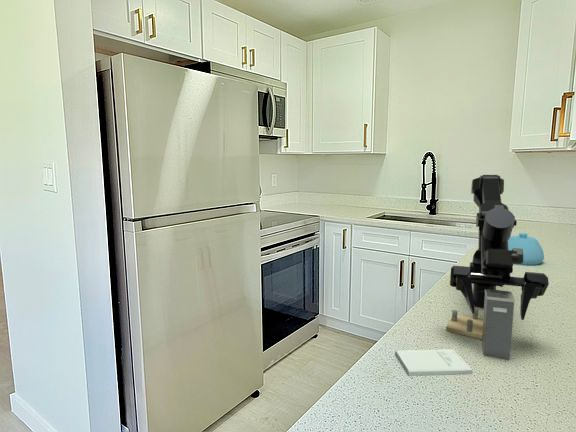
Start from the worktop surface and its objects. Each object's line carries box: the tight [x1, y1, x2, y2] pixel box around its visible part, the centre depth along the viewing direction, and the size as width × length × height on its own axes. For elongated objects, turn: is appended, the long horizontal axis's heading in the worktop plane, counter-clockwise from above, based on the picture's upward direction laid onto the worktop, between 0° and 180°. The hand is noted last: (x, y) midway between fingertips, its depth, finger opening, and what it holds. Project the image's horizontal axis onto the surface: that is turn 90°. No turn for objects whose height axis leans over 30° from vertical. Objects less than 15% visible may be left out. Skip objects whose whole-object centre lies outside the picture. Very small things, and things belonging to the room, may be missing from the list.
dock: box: [445, 307, 483, 340], centre depth 91 cm, size 10×10×4 cm
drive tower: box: [481, 289, 516, 361], centre depth 79 cm, size 5×5×13 cm
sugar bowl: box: [508, 232, 545, 266], centre depth 150 cm, size 15×15×12 cm
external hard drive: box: [394, 348, 473, 377], centre depth 75 cm, size 2×8×12 cm
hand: (497, 315), depth 79 cm, fingers open, 9 cm apart
